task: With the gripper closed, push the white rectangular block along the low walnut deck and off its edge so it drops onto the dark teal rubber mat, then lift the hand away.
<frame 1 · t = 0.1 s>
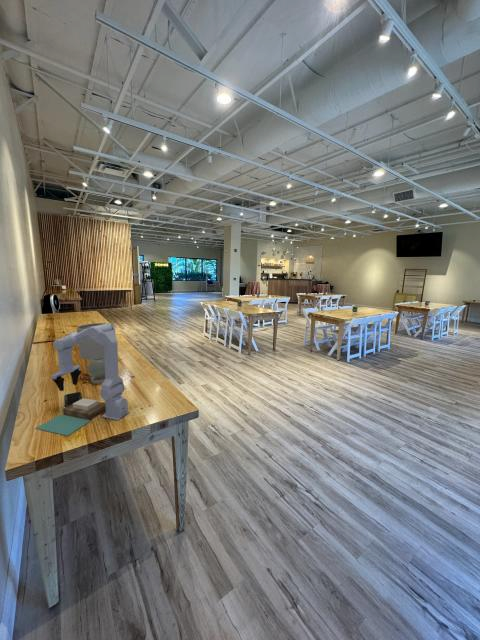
hand: (68, 387, 134), 10 cm above the table, tool pointing down, fingers open, 7 cm apart
white rectangular block: (85, 404, 129), point 4 cm above the table, touching deck
phone: (73, 400, 142), on the table
deck: (86, 411, 130), on the table
mat: (63, 424, 119), on the table
lamp: (100, 380, 168), on the table
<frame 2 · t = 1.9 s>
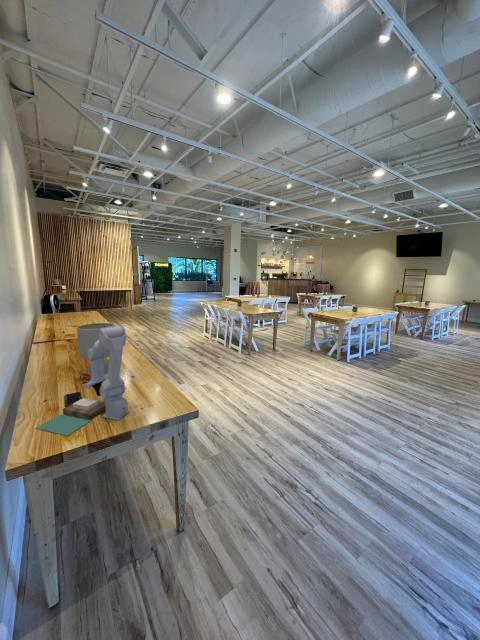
hand: (99, 395, 138), 4 cm above the table, tool pointing down, fingers closed
nothing on the table moved.
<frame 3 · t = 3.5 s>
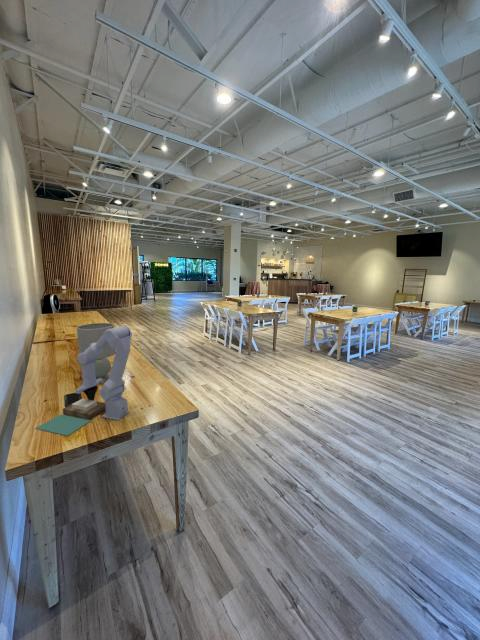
hand: (91, 401, 133), 4 cm above the table, tool pointing down, fingers closed
white rectangular block: (84, 404, 129), point 4 cm above the table, touching deck, gripper
everything else where it was.
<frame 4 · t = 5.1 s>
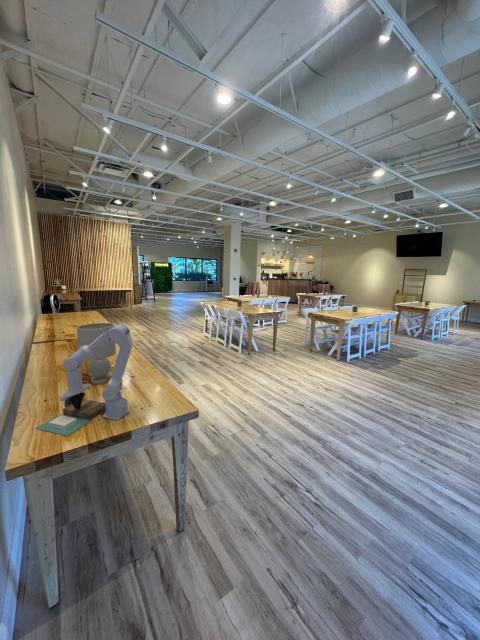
hand: (77, 408, 125), 4 cm above the table, tool pointing down, fingers closed
white rectangular block: (63, 422, 118), point 1 cm above the table, tilted 180°, touching mat
everything else where it was.
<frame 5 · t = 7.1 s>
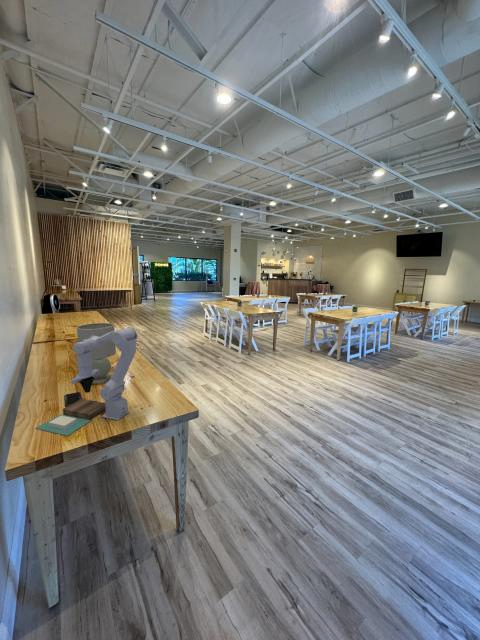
hand: (87, 392, 130), 9 cm above the table, tool pointing down, fingers closed
nothing on the table moved.
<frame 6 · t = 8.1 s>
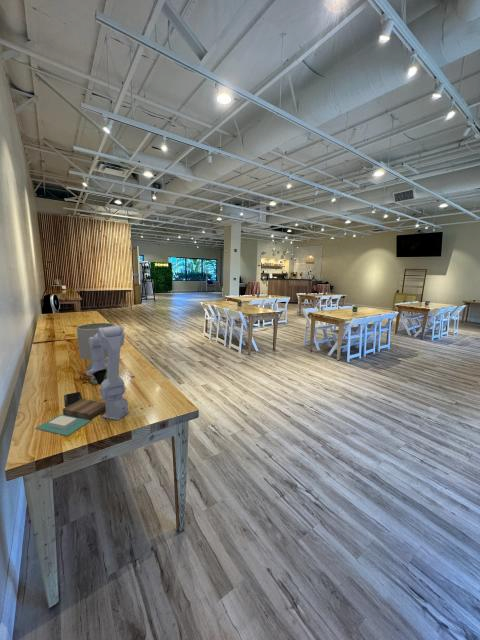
hand: (100, 383, 140), 9 cm above the table, tool pointing down, fingers closed
nothing on the table moved.
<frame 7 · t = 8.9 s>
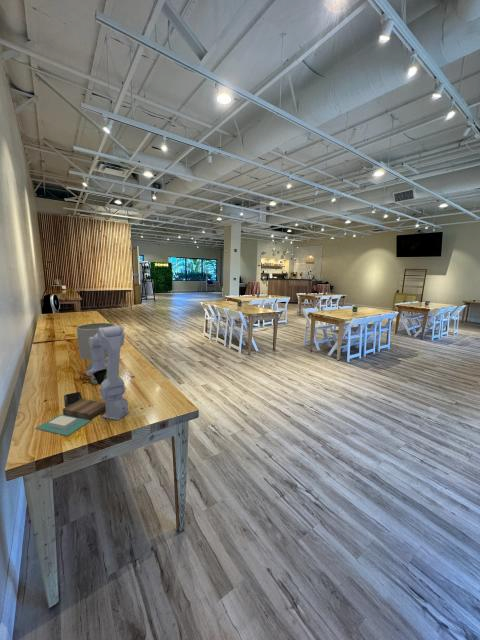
hand: (100, 383, 140), 9 cm above the table, tool pointing down, fingers closed
nothing on the table moved.
at the end: white rectangular block inside the target area on the mat (0.0 cm from its centre), point 1.3 cm above the mat's base; white rectangular block touching mat; white rectangular block moved 12.6 cm from its start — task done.
